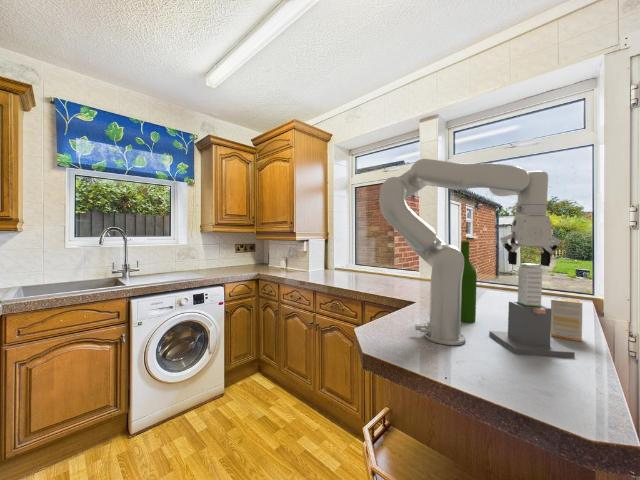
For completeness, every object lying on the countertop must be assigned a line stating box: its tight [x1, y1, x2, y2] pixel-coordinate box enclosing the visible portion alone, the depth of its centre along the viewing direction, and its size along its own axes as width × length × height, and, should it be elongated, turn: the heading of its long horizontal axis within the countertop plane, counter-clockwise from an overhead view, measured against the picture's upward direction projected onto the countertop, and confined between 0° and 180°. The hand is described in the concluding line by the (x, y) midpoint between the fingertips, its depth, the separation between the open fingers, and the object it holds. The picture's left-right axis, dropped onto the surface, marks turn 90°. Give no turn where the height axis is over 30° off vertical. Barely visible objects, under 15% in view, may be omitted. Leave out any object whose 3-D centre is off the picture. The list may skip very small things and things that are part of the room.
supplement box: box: [550, 297, 583, 342], centre depth 99 cm, size 8×5×13 cm, turn 48°
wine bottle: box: [460, 240, 478, 324], centre depth 118 cm, size 9×9×32 cm
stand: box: [488, 300, 576, 358], centre depth 91 cm, size 16×16×13 cm
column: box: [516, 262, 543, 307], centre depth 91 cm, size 5×5×19 cm
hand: (528, 265), depth 91 cm, fingers open, 9 cm apart
